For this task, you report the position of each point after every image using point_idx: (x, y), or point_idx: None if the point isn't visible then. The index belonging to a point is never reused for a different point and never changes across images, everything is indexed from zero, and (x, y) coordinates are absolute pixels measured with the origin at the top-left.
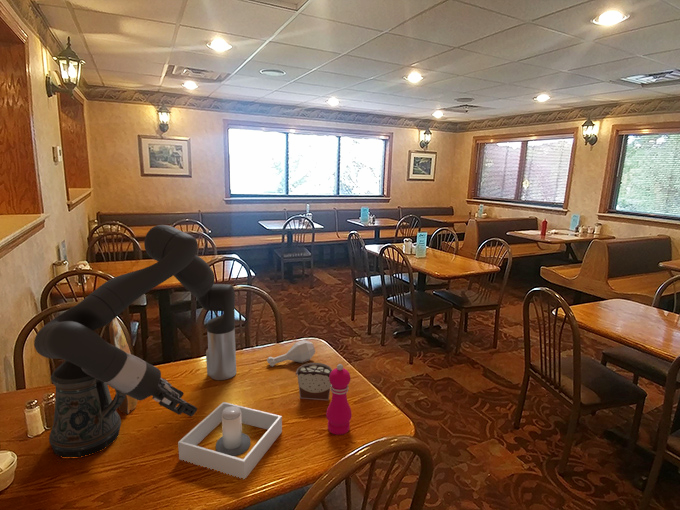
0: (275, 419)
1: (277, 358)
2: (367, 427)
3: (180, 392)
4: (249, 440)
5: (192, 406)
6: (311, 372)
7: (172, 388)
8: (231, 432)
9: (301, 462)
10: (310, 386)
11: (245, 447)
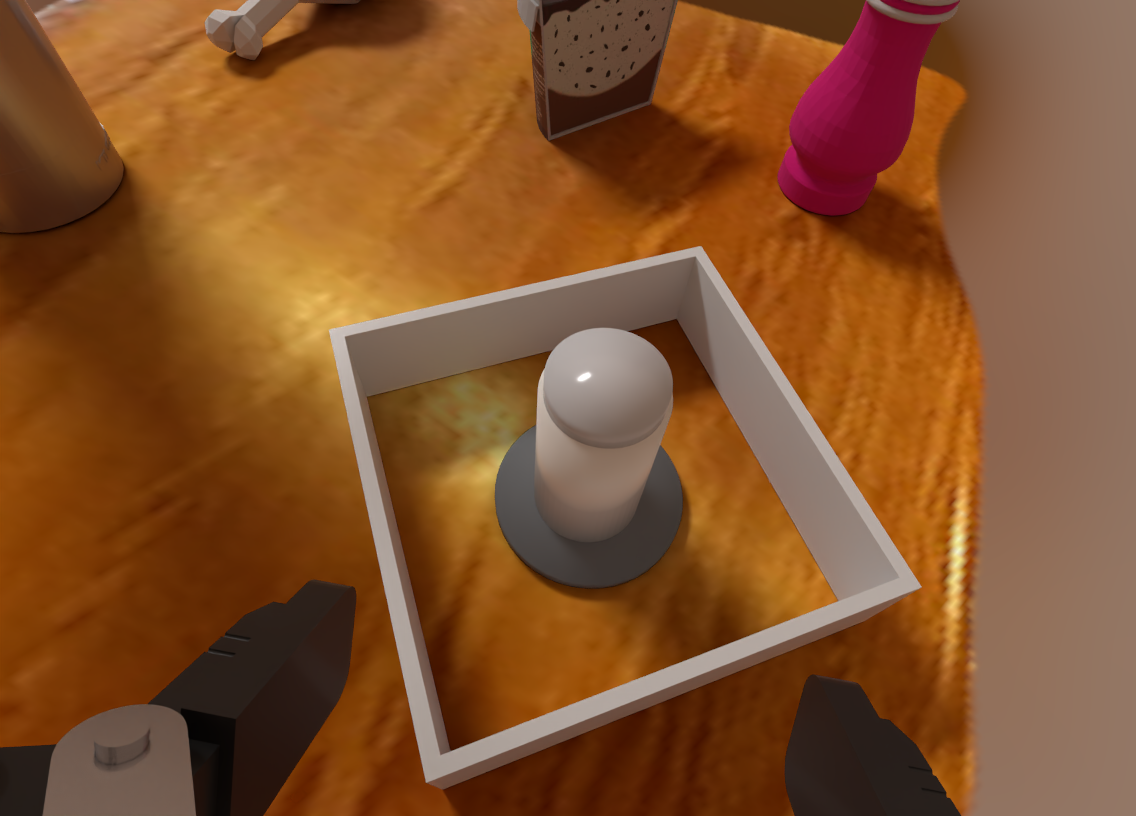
0: (672, 275)
1: (258, 8)
2: None
3: (331, 623)
4: None
5: (893, 748)
6: None
7: (235, 736)
8: (645, 477)
9: (914, 386)
10: (591, 67)
11: (668, 474)
